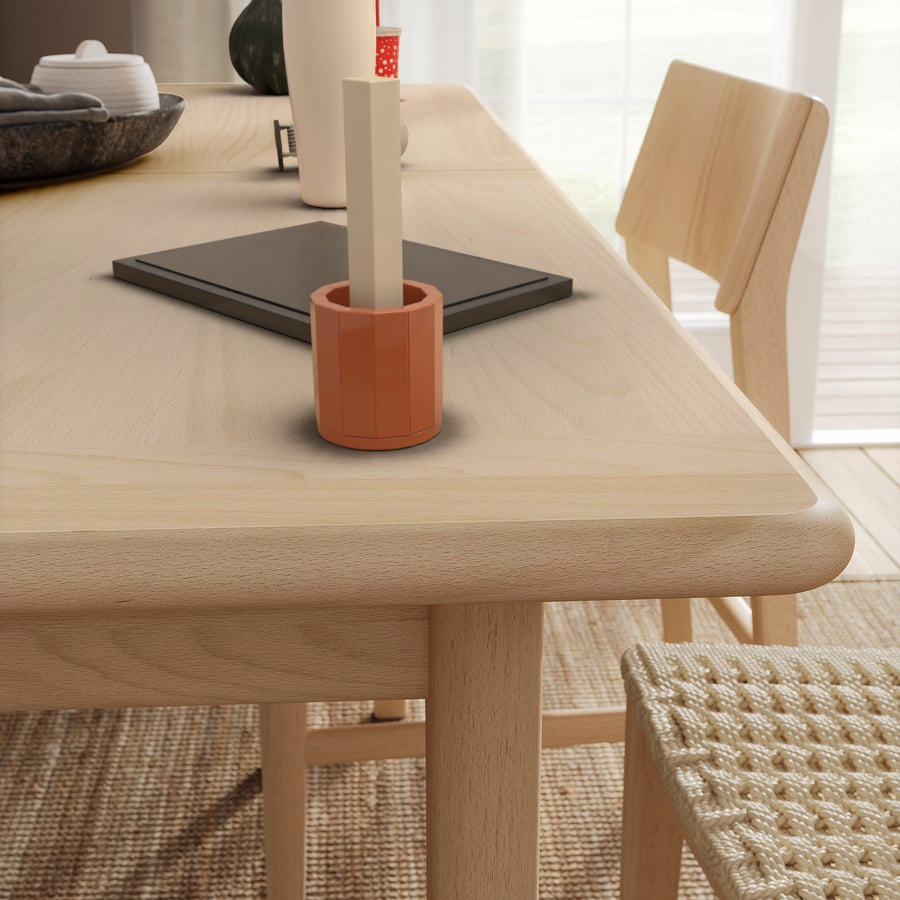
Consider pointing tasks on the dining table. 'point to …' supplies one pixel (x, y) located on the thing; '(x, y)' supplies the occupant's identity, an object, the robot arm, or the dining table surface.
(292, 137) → the clip-on lamp
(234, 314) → the tablet
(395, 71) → the beverage cup
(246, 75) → the squash
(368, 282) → the stylus
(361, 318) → the pen pot
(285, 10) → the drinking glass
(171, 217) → the dining table surface
